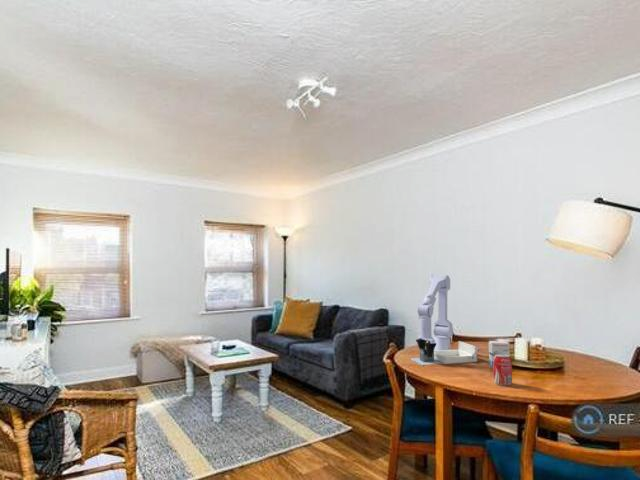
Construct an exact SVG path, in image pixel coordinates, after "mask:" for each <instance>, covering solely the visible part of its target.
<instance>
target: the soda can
mask: <svg viewBox="0 0 640 480" xmlns="http://www.w3.org/2000/svg"><path fill="white" fill-rule="evenodd" d="M512 366H513V363H512V359H511V356H510V355H507V354H495V357H494V359H493V366H492V367H493V382H494V383H495V384H496V385H498V386H503V387H508V386H510V385H512V384H513V367H512Z"/></svg>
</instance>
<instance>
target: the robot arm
mask: <svg viewBox="0 0 640 480" xmlns="http://www.w3.org/2000/svg"><path fill="white" fill-rule="evenodd" d="M429 284H430V287H429V290H428V293H427V294H425V295H424V298H423V300H422V303H421V304H420V305H418V308H417V315H418V320H419V334H417V336H416V337H417V339H415V341H416V343H417V346H418V349H419V350H418V351H420V348H426V349H427V356H428V357H432V355H433V351H439V350H451V338H452V337H453V334H454V328H453V323H452V322H451V321H450V320H448V291H449V290H451V278H450V276H449V275H448V274H446V275H445V274H444V275H441V274H431V275H430V277H429ZM437 293H438V296H437ZM436 296H437V298H438V301H437V303H438V304H437V305H438V306H437V308H438V311H437V314H438V315H437V317H438V319H437V320H435V321H434V322H433V328H432V316H433V315H434V308H435V307H434V305H435V304H436V300H437V298H436ZM432 332H433V335H434V336H435V337H434V338H433V337H432Z"/></svg>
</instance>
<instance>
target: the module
mask: <svg viewBox="0 0 640 480" xmlns="http://www.w3.org/2000/svg"><path fill="white" fill-rule="evenodd" d="M418 351H419V358H420V361H422V362H433V361H434V360H435V359H434V351H433V355H432V357H428V356H427V349H426V347H425V348H420V350H418Z"/></svg>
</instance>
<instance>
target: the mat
mask: <svg viewBox="0 0 640 480" xmlns="http://www.w3.org/2000/svg"><path fill="white" fill-rule="evenodd" d="M410 360H411V361H413V362H414V363H417V364H418V365H421V366H422V367H423V366H425V365H438V364H439V365H440V364H441V365H442V364H443V362H440V361H438V360H436V359H434V361H433V362H422V361H420V357H413V358H412V357H411V358H410Z"/></svg>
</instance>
